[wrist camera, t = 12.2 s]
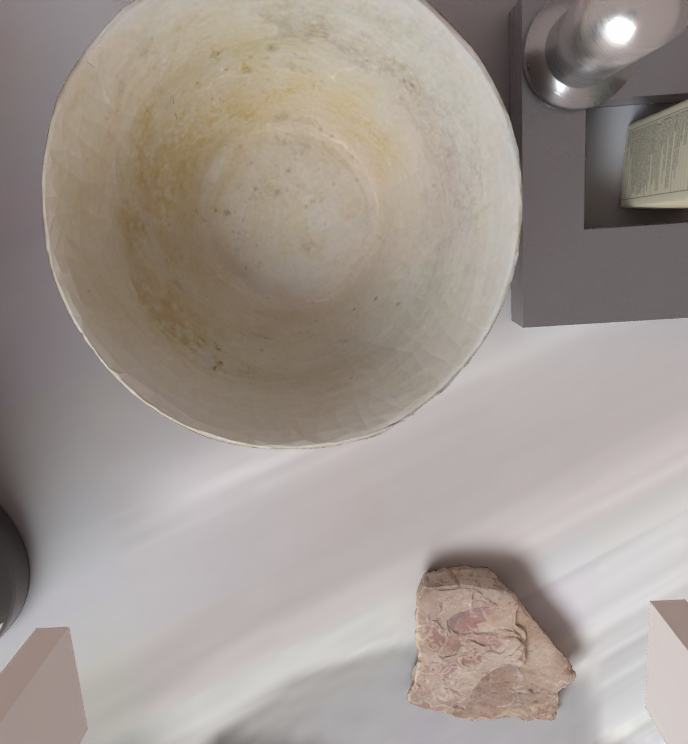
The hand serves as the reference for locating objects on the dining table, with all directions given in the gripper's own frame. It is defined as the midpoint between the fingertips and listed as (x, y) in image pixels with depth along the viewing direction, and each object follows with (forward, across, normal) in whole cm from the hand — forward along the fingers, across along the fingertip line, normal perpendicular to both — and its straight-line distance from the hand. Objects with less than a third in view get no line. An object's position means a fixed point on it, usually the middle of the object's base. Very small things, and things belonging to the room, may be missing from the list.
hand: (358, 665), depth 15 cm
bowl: (+29, -3, +10) cm, 31 cm away
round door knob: (+29, +13, +18) cm, 36 cm away
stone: (+29, +8, -21) cm, 37 cm away
